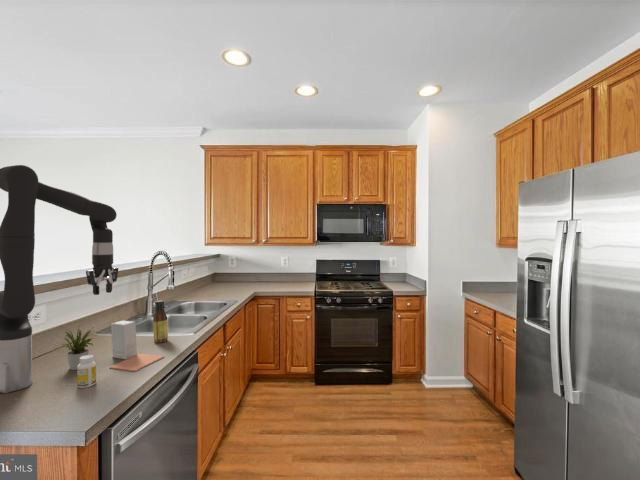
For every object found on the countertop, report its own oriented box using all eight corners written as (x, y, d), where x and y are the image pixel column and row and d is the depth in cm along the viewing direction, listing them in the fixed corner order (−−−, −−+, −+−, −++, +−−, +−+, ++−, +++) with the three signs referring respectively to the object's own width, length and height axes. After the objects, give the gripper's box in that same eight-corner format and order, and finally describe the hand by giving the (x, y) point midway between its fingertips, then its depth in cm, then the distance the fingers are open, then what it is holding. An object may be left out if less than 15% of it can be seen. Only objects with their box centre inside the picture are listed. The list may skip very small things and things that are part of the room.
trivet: (134, 371, 130) (134, 370, 130) (109, 368, 134) (109, 366, 134) (164, 357, 146) (164, 356, 146) (140, 354, 149) (140, 353, 149)
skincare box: (137, 355, 148) (137, 321, 147) (124, 360, 142) (124, 324, 142) (123, 353, 151) (123, 319, 151) (110, 357, 145) (110, 322, 145)
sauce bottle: (170, 339, 171) (170, 299, 170) (163, 343, 164) (163, 302, 164) (157, 339, 171) (157, 299, 171) (150, 343, 165) (150, 301, 165)
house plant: (47, 378, 124) (47, 333, 123) (53, 365, 135) (53, 324, 135) (94, 371, 131) (94, 328, 131) (96, 359, 143) (96, 320, 142)
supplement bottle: (92, 380, 123) (93, 353, 122) (98, 384, 119) (98, 356, 119) (75, 385, 118) (75, 357, 118) (80, 389, 115) (80, 360, 115)
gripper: (94, 254, 136) (94, 296, 136) (124, 252, 150) (123, 291, 150) (79, 254, 138) (79, 295, 138) (110, 252, 152) (110, 290, 152)
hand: (102, 293), depth 144 cm, fingers open, 5 cm apart
